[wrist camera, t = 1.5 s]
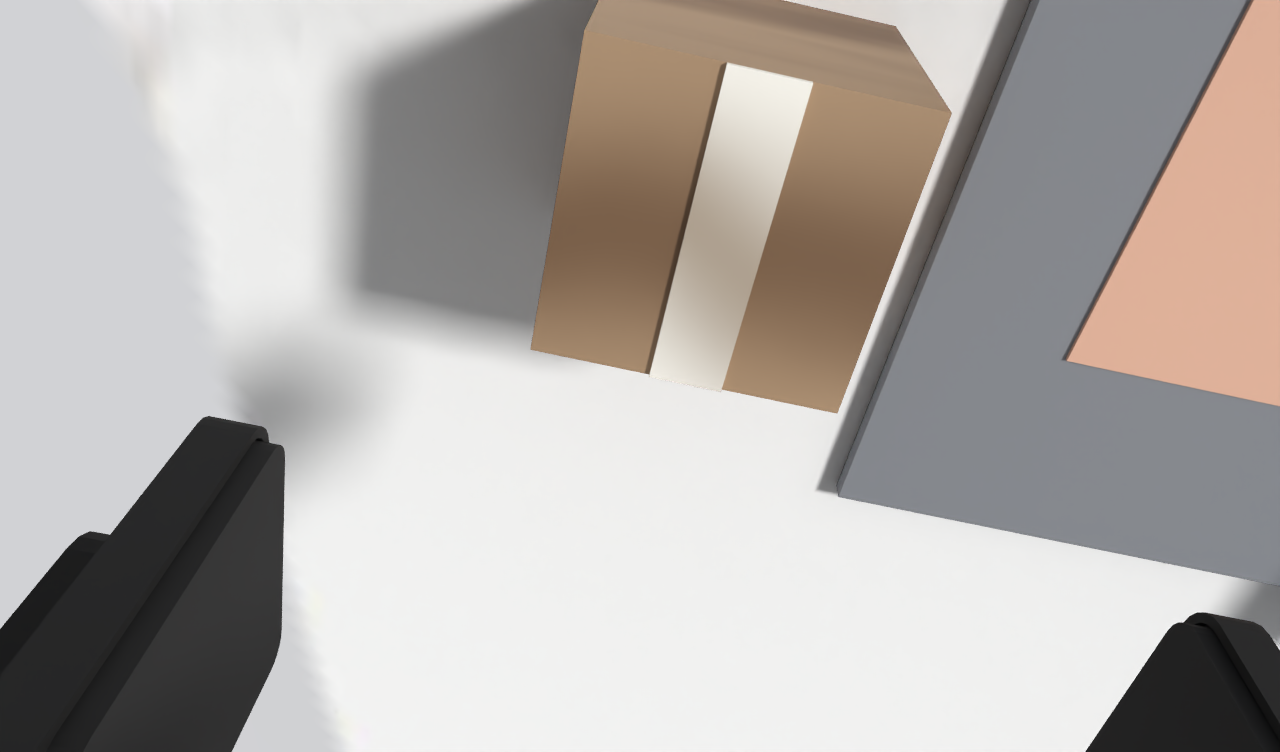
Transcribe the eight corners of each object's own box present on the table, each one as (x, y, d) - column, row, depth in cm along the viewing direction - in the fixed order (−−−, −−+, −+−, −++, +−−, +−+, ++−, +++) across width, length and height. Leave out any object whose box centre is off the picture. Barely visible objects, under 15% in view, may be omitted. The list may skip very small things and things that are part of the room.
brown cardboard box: (616, -39, 21) (583, 31, 15) (894, 25, 21) (952, 115, 16) (570, 222, 24) (530, 352, 19) (811, 274, 24) (837, 416, 19)
